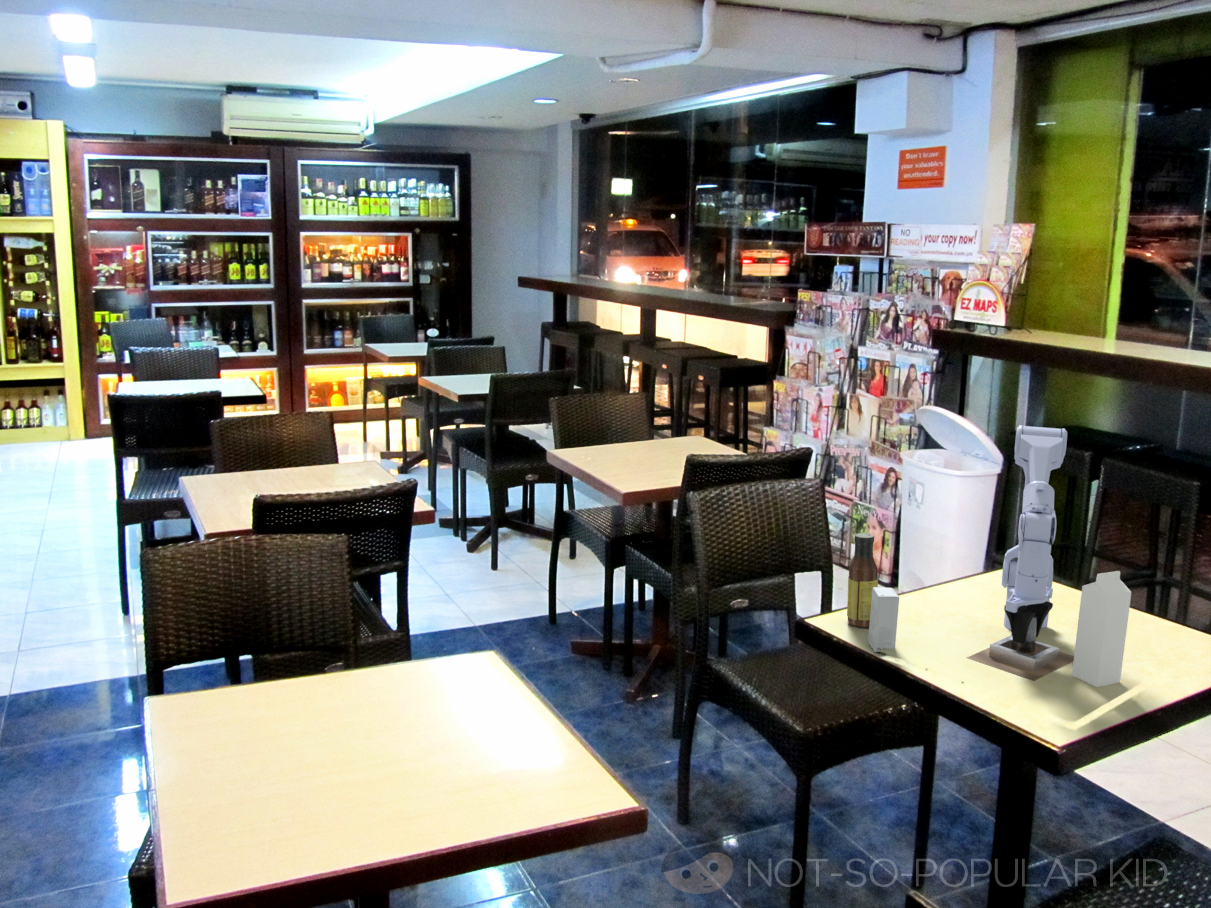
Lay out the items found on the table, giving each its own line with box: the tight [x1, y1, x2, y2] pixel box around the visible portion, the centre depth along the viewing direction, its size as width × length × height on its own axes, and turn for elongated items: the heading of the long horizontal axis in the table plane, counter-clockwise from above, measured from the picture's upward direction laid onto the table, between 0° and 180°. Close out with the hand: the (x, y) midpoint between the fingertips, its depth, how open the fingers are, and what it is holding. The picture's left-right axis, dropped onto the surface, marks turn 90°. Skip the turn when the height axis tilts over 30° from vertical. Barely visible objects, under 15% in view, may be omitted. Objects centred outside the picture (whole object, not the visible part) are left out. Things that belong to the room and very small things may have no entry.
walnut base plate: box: [966, 647, 1074, 682], centre depth 209 cm, size 18×14×1 cm
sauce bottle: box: [846, 532, 879, 629], centre depth 227 cm, size 7×6×20 cm
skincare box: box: [867, 586, 900, 653], centre depth 214 cm, size 6×4×12 cm
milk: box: [1071, 570, 1132, 688], centre depth 198 cm, size 6×6×22 cm
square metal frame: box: [989, 635, 1060, 671], centre depth 209 cm, size 9×9×2 cm
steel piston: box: [1010, 614, 1037, 653], centre depth 208 cm, size 4×4×7 cm
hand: (1025, 638), depth 208 cm, fingers closed on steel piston, 4 cm apart
